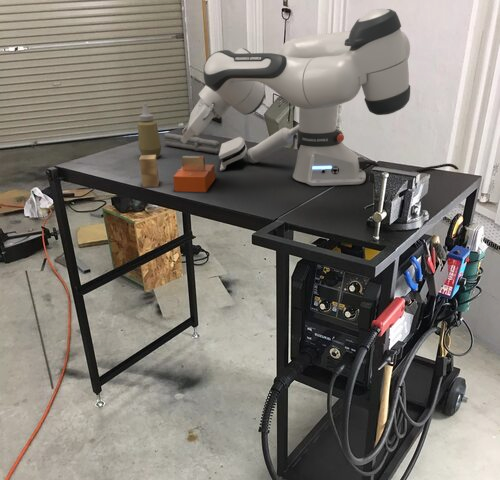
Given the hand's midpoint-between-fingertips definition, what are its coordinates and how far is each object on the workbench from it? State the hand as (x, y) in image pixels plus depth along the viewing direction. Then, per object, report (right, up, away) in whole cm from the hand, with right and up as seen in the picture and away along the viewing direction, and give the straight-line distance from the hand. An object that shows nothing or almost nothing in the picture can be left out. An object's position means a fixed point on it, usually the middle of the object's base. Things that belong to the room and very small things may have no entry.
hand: (183, 137), depth 158 cm
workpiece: (-11, -12, +7) cm, 18 cm away
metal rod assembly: (-2, +10, +42) cm, 43 cm away
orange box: (+3, -12, +6) cm, 14 cm away
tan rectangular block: (+3, -9, +3) cm, 10 cm away
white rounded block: (+10, +3, +22) cm, 24 cm away
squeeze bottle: (-16, +5, +35) cm, 38 cm away
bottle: (+20, +2, +24) cm, 31 cm away
